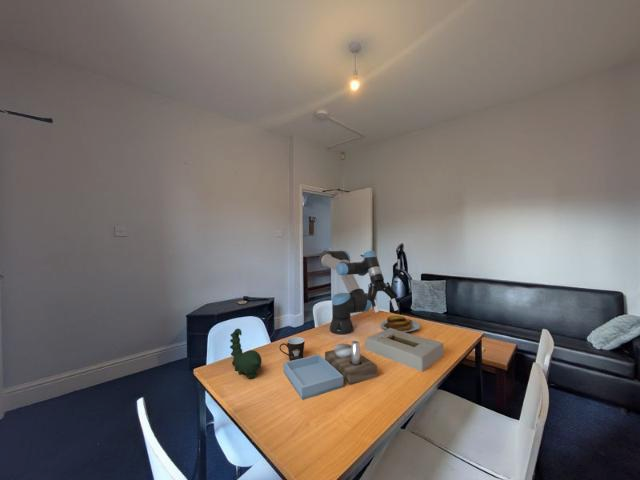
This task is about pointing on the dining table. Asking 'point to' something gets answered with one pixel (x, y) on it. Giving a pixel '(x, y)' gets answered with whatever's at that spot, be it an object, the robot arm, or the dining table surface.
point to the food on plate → (400, 324)
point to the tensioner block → (350, 364)
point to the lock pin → (355, 353)
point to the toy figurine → (244, 357)
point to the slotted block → (405, 348)
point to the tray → (312, 376)
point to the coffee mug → (294, 348)
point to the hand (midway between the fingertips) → (387, 311)
